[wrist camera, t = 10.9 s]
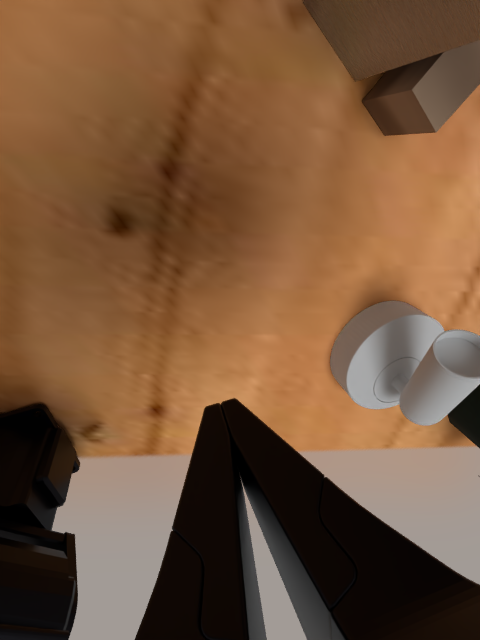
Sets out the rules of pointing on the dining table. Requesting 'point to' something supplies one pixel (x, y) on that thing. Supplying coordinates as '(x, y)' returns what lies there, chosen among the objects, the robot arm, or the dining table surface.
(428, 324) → the wall hook
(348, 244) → the dining table surface
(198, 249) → the dining table surface
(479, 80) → the bench
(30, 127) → the dining table surface
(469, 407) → the wine bottle
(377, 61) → the grey square pillar
